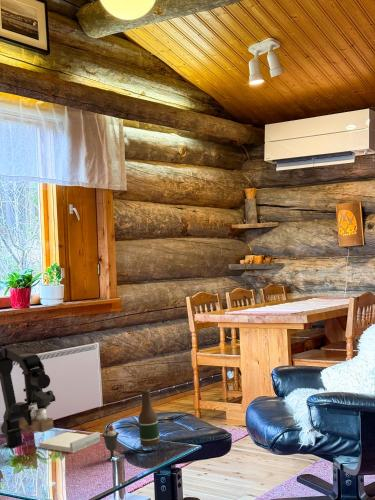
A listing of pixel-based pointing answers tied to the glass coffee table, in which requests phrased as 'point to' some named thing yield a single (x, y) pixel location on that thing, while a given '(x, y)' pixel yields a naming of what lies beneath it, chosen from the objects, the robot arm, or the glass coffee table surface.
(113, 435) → the sundae
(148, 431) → the beer bottle
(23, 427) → the glass caddy
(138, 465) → the glass coffee table surface
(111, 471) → the glass coffee table surface
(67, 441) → the cream flat block
